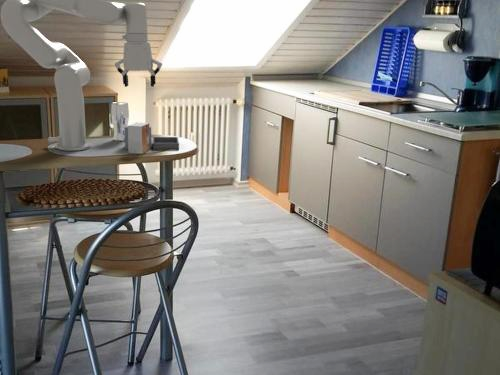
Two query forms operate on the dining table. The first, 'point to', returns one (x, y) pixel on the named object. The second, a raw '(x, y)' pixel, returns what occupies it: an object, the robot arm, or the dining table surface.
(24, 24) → the robot arm
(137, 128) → the small box
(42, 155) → the dining table surface
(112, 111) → the beer glass
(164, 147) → the tray
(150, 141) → the grey rectangular block
